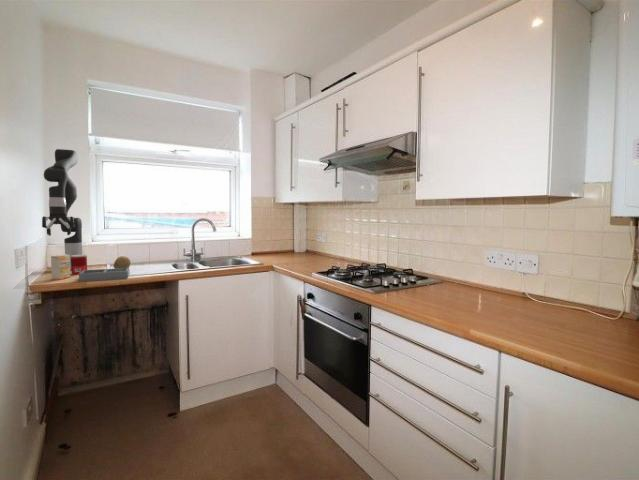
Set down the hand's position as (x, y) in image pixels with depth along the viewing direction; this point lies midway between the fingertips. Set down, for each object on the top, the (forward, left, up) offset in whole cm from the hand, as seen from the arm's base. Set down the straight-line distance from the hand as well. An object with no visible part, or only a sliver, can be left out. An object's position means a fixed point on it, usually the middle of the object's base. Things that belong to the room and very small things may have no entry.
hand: (59, 235), depth 194 cm
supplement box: (0, 0, -24) cm, 24 cm away
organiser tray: (+6, +22, -24) cm, 33 cm away
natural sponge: (-10, +29, -24) cm, 39 cm away
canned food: (-15, +6, -24) cm, 29 cm away
